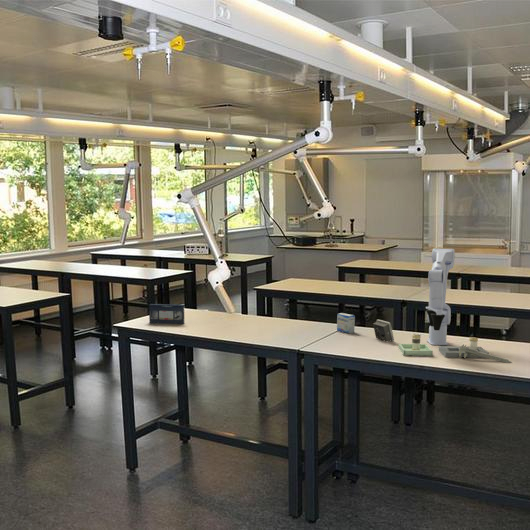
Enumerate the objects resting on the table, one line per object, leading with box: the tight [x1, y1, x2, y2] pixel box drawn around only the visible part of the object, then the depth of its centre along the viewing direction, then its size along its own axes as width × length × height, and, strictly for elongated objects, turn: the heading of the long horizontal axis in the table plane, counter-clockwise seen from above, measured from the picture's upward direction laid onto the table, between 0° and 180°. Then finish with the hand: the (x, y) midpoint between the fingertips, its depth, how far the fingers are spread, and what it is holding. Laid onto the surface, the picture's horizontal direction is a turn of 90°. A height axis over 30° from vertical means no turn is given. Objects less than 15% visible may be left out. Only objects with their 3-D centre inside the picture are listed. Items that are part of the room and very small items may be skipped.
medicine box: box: [336, 312, 356, 334], centre depth 299 cm, size 8×4×9 cm, turn 42°
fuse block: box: [438, 345, 490, 359], centre depth 257 cm, size 11×18×2 cm, turn 88°
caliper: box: [458, 344, 513, 364], centre depth 248 cm, size 20×1×6 cm, turn 71°
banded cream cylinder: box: [411, 333, 422, 350], centre depth 259 cm, size 3×3×7 cm
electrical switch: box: [372, 319, 395, 342], centre depth 282 cm, size 9×5×9 cm, turn 29°
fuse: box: [468, 336, 479, 350], centre depth 257 cm, size 3×3×7 cm
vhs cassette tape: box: [148, 303, 185, 325], centre depth 316 cm, size 18×3×10 cm, turn 83°
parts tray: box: [397, 343, 434, 357], centre depth 260 cm, size 12×12×2 cm
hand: (434, 328), depth 261 cm, fingers open, 7 cm apart
